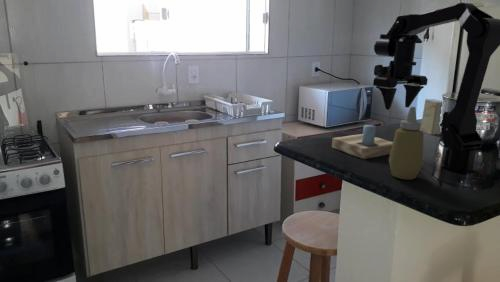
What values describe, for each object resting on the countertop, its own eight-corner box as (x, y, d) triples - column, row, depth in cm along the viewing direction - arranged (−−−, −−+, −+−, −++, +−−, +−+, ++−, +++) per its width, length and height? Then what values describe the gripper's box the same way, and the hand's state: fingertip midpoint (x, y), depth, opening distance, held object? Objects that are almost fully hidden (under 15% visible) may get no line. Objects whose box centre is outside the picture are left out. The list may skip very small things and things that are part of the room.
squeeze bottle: (381, 175, 106) (389, 106, 102) (396, 169, 112) (404, 103, 107) (411, 184, 101) (421, 111, 96) (425, 177, 106) (436, 107, 102)
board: (396, 152, 127) (397, 143, 126) (363, 159, 120) (364, 149, 119) (363, 142, 138) (364, 133, 137) (331, 147, 131) (332, 138, 130)
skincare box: (419, 131, 157) (424, 99, 154) (429, 130, 158) (434, 98, 155) (431, 135, 151) (436, 102, 148) (441, 134, 152) (446, 101, 149)
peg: (375, 152, 125) (378, 126, 123) (367, 154, 123) (370, 128, 121) (366, 149, 128) (369, 124, 125) (358, 151, 126) (361, 125, 124)
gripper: (402, 55, 138) (396, 102, 142) (362, 56, 128) (357, 106, 133) (431, 58, 129) (424, 108, 133) (391, 59, 119) (384, 112, 123)
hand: (397, 108), depth 131 cm, fingers open, 9 cm apart
